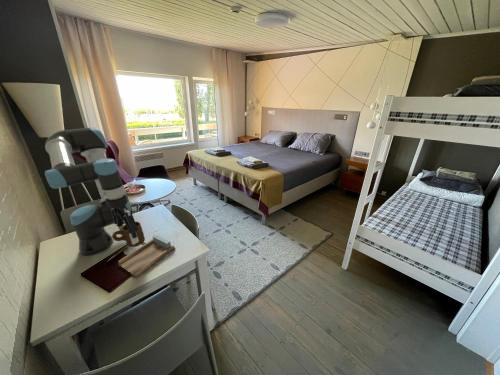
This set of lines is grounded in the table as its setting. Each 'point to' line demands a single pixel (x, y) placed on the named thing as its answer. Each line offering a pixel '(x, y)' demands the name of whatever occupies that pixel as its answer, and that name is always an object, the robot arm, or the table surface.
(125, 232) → the mug
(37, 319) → the table surface
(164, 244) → the bar
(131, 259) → the housing base
